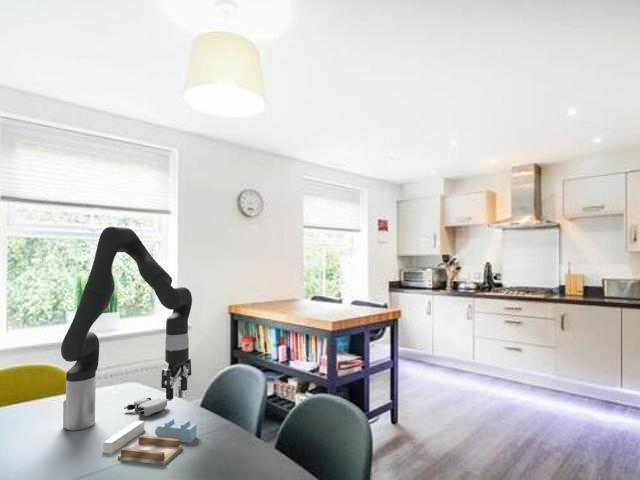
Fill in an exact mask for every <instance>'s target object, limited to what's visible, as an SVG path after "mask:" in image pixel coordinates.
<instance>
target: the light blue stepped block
mask: <svg viewBox="0 0 640 480" xmlns="http://www.w3.org/2000/svg"><path fill="white" fill-rule="evenodd" d="M197 426H198V425H197V424H196V423H191V421H190V419H186V420H185V421H184V422H175V419H174V418H170V419H168V420H167V421H166V420H165V421H163V422H162V423H160V424H159V425H157V426H156V428H155V430H154V433H155V436H156V437H163V438H173V439H180V443H187V444H188V443H192V442H194V440H195V439H196V438H197Z"/></svg>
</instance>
